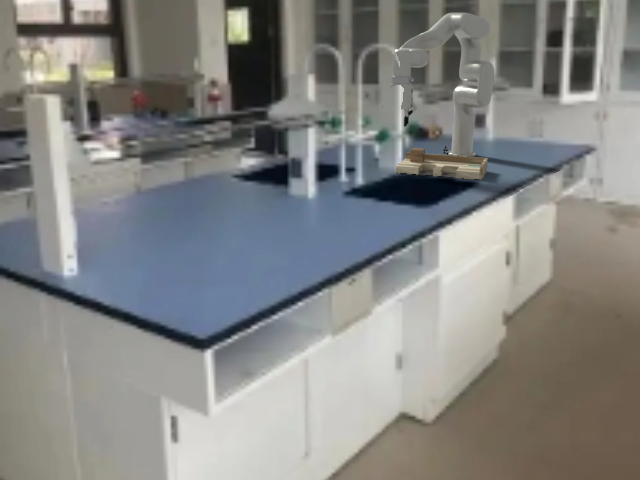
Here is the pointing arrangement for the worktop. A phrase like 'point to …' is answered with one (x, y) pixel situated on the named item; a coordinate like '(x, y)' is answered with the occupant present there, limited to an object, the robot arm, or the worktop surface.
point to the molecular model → (449, 153)
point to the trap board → (445, 166)
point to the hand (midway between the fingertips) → (398, 125)
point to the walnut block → (417, 155)
